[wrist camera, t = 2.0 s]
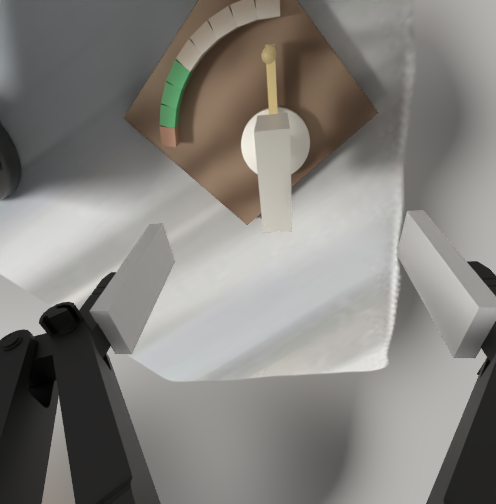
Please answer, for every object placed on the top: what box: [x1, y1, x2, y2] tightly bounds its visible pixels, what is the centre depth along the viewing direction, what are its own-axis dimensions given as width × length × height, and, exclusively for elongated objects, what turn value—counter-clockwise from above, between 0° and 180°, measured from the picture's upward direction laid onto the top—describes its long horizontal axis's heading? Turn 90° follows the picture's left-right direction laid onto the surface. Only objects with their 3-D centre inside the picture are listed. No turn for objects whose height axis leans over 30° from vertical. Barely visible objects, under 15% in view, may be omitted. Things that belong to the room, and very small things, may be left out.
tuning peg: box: [241, 44, 310, 233], centre depth 25 cm, size 7×12×11 cm, turn 6°
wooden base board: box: [124, 0, 378, 225], centre depth 29 cm, size 18×18×4 cm
